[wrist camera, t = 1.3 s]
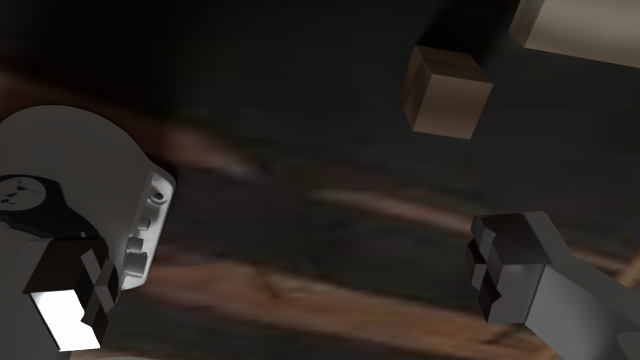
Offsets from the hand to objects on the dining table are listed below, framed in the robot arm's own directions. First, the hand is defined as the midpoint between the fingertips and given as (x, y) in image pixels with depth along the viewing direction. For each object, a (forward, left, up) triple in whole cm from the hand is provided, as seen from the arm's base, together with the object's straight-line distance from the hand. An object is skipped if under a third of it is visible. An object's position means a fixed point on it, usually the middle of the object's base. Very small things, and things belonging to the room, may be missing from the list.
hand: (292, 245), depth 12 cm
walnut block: (-8, -15, -33) cm, 37 cm away
